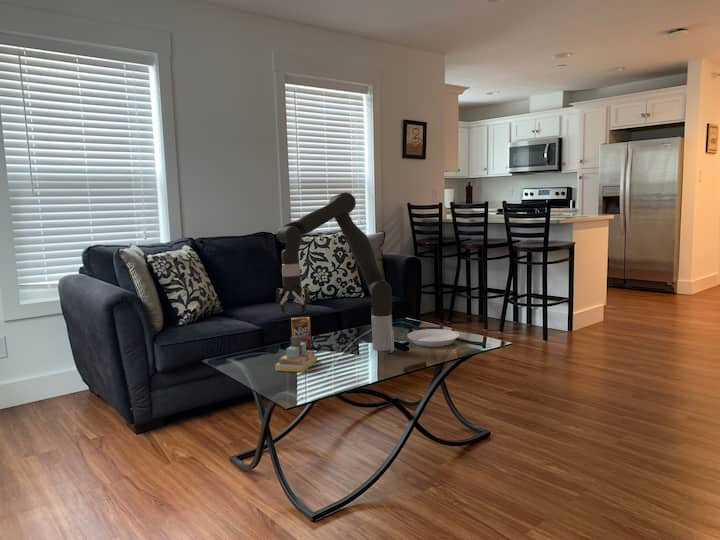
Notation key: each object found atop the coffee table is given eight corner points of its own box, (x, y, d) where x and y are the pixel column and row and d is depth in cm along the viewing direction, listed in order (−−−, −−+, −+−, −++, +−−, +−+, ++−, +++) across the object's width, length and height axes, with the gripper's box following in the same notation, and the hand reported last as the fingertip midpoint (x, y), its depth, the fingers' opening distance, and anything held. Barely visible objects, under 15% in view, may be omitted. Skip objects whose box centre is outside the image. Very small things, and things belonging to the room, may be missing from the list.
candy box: (292, 350, 264) (290, 319, 262) (292, 348, 268) (290, 317, 266) (311, 349, 265) (309, 317, 263) (311, 347, 269) (309, 316, 268)
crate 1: (290, 355, 233) (290, 346, 232) (299, 356, 232) (298, 346, 231) (286, 358, 229) (286, 349, 229) (295, 358, 228) (295, 349, 227)
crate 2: (297, 351, 240) (297, 342, 239) (306, 351, 238) (305, 342, 238) (293, 353, 236) (293, 344, 235) (302, 354, 235) (302, 344, 234)
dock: (317, 364, 240) (317, 355, 240) (303, 375, 225) (302, 365, 224) (291, 363, 244) (290, 354, 243) (275, 374, 228) (275, 364, 228)
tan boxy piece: (292, 354, 242) (291, 332, 241) (314, 355, 239) (312, 332, 238) (279, 363, 229) (277, 340, 228) (301, 364, 226) (300, 340, 225)
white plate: (402, 348, 260) (402, 340, 260) (413, 335, 284) (412, 328, 284) (456, 349, 253) (455, 342, 253) (462, 336, 277) (462, 329, 276)
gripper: (310, 272, 231) (313, 311, 233) (279, 273, 235) (281, 311, 237) (303, 275, 224) (306, 315, 226) (271, 275, 228) (274, 314, 230)
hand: (293, 313), depth 231 cm, fingers open, 8 cm apart
